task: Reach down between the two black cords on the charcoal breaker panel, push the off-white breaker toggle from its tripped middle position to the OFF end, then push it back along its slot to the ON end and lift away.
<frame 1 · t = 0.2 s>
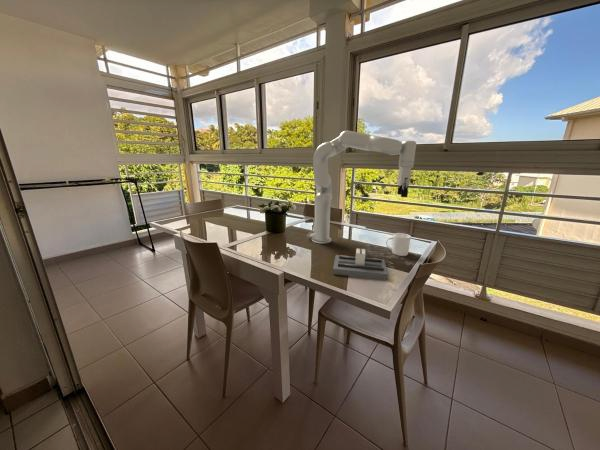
hand: (402, 195, 136), 31 cm above the table, tool pointing down, fingers open, 9 cm apart
breaker panel: (359, 269, 115), on the table
breaker toggle: (360, 256, 114), point 6 cm above the table, slide at 0.0 cm
mug: (396, 253, 136), on the table
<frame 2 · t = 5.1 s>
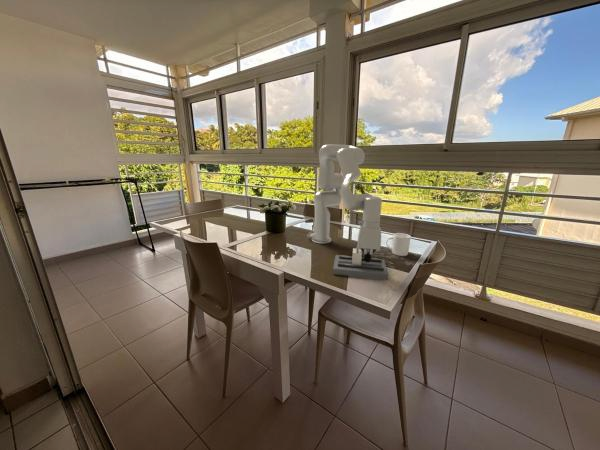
hand: (367, 261, 114), 5 cm above the table, tool pointing down, fingers closed
breaker toggle: (356, 256, 114), point 6 cm above the table, slide at -1.6 cm, touching gripper
everything else where it was.
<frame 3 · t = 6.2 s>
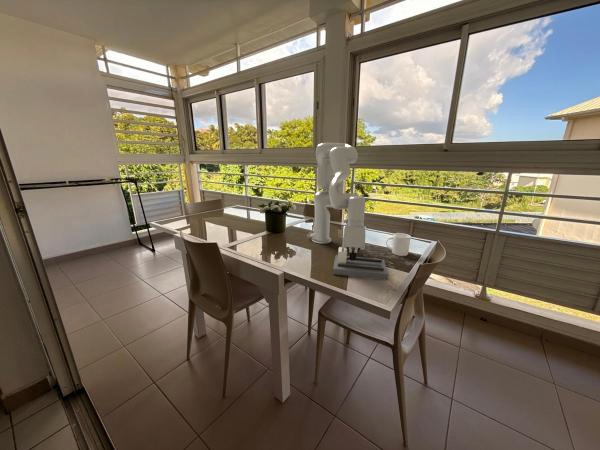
hand: (352, 259, 115), 5 cm above the table, tool pointing down, fingers closed
breaker toggle: (342, 255, 115), point 6 cm above the table, slide at -8.3 cm, touching gripper
everything else where it was.
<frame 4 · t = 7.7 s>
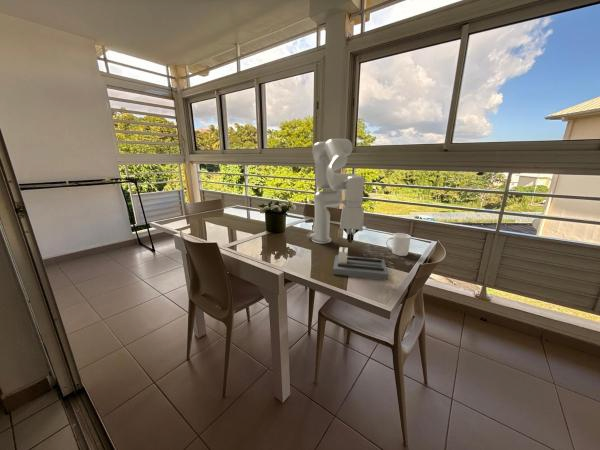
hand: (349, 241, 114), 13 cm above the table, tool pointing down, fingers closed
breaker toggle: (343, 255, 115), point 6 cm above the table, slide at -8.0 cm
everything else where it was.
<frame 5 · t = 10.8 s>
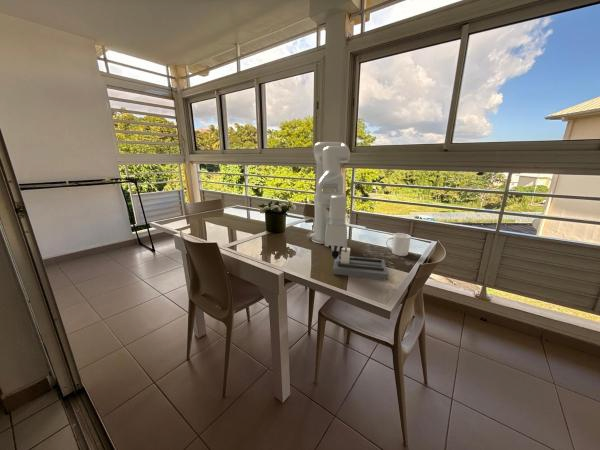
hand: (335, 257, 117), 5 cm above the table, tool pointing down, fingers closed
breaker toggle: (345, 255, 115), point 6 cm above the table, slide at -6.9 cm, touching gripper
everything else where it was.
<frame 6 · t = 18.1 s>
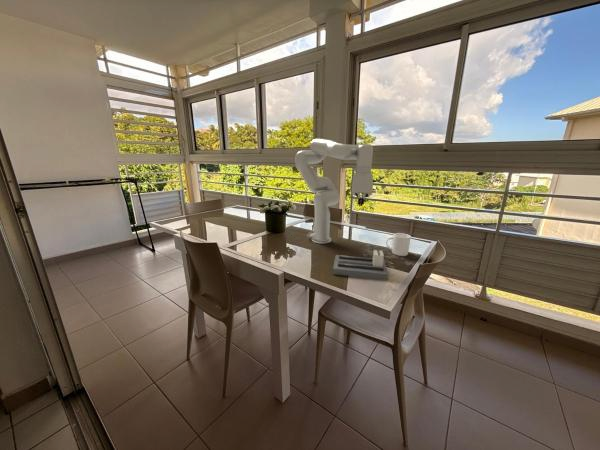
hand: (360, 205, 127), 27 cm above the table, tool pointing down, fingers closed
breaker toggle: (377, 258, 112), point 6 cm above the table, slide at 8.0 cm
everything else where it was.
at the end: breaker toggle slide at 8.0 cm; mug moved 0.2 cm from its start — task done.
